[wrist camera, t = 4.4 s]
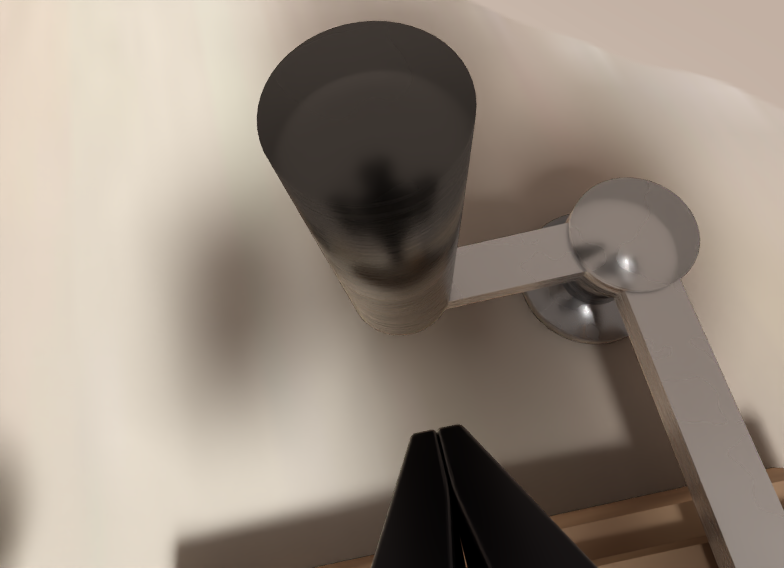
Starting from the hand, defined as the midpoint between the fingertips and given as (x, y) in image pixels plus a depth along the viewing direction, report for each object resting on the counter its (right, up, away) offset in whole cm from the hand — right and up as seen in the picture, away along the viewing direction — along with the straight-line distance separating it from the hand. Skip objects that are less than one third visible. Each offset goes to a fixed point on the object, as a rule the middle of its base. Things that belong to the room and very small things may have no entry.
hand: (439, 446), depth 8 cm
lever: (+4, -2, +5) cm, 7 cm away
